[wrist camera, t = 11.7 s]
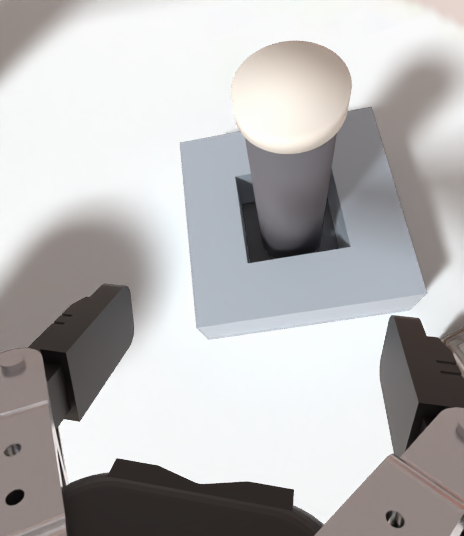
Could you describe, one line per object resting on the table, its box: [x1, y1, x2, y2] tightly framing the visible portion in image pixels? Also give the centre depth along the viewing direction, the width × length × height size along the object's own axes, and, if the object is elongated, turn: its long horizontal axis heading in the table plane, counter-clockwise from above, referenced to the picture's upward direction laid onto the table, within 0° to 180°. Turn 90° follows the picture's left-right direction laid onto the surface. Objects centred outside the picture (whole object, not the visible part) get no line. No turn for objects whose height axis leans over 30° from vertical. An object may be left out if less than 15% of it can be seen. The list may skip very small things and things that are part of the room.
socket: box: [180, 107, 427, 340], centre depth 30 cm, size 14×14×4 cm
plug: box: [231, 41, 352, 259], centre depth 25 cm, size 5×5×15 cm
